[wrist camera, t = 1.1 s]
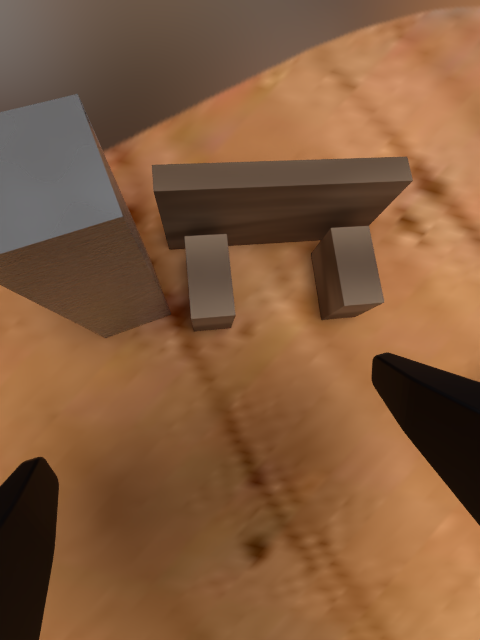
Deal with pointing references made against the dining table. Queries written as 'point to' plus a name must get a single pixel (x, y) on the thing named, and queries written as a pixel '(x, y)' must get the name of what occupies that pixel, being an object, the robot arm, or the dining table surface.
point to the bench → (279, 224)
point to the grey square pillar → (70, 223)
